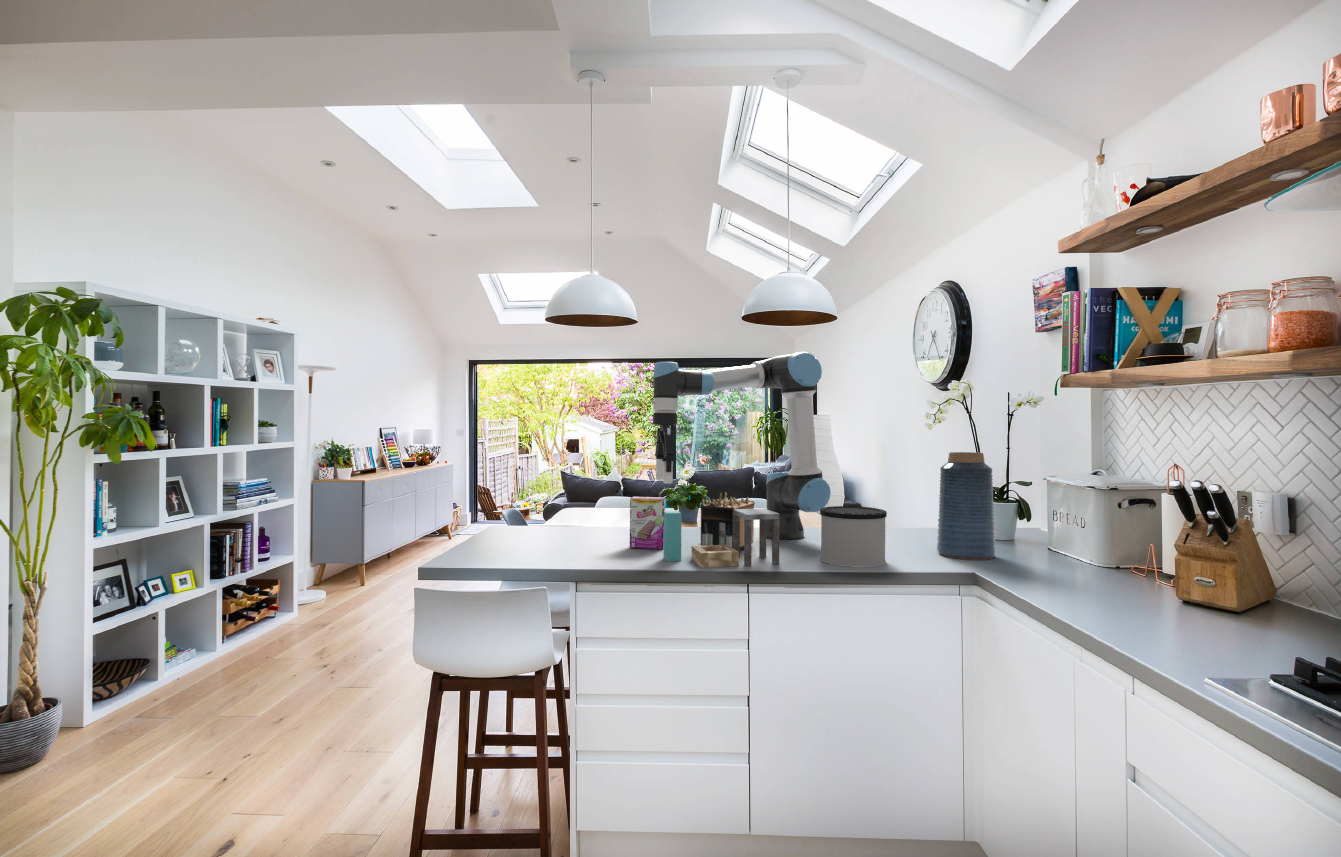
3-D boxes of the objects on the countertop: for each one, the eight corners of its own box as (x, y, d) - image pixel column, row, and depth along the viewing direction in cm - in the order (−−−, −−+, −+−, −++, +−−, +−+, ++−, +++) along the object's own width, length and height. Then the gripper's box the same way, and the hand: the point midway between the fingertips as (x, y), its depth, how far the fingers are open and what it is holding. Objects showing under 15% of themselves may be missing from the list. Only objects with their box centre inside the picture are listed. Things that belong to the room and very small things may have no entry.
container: (815, 564, 183) (815, 512, 183) (824, 552, 201) (825, 504, 201) (884, 569, 176) (884, 515, 176) (888, 557, 194) (888, 507, 194)
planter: (775, 556, 194) (775, 494, 195) (693, 557, 193) (693, 495, 193) (758, 544, 219) (758, 489, 220) (685, 544, 218) (686, 489, 218)
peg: (677, 557, 192) (677, 511, 192) (681, 560, 187) (681, 512, 187) (663, 558, 191) (663, 511, 191) (666, 561, 186) (666, 513, 186)
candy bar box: (629, 549, 205) (629, 498, 205) (631, 546, 210) (631, 496, 210) (663, 549, 204) (664, 498, 204) (665, 547, 209) (665, 496, 209)
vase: (994, 552, 200) (994, 452, 200) (996, 562, 186) (996, 454, 186) (938, 548, 207) (938, 451, 207) (935, 557, 193) (936, 453, 192)
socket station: (764, 556, 194) (764, 508, 194) (779, 564, 182) (779, 513, 182) (691, 559, 189) (691, 510, 189) (701, 567, 177) (701, 515, 177)
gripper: (647, 413, 208) (646, 478, 207) (659, 410, 183) (658, 484, 183) (669, 413, 209) (668, 478, 209) (685, 411, 184) (684, 484, 184)
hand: (663, 481), depth 196 cm, fingers open, 13 cm apart
